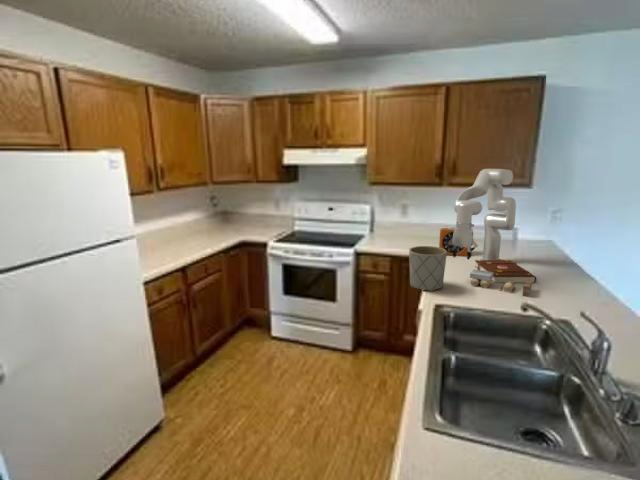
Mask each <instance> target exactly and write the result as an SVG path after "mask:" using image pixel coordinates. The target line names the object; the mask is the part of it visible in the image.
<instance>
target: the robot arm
mask: <svg viewBox="0 0 640 480" xmlns="http://www.w3.org/2000/svg"><path fill="white" fill-rule="evenodd" d="M513 179H514V174H513V171H512V170H510V169H505V168H484V169H482V170H480V172H479V173H478V175H477V176H476V179H475V181H474V183H473V184H472V186H470V187H467V188H466V189H465V190H463V191H461V193H460V194H459V195H458V196H457V198H456V200H455V202H454V205H453V210H454V212H455V213H456V220H455V221H456V223H455V226H456V227H455V229H454V233H453V239H451V240H450V241H449V242H447V243H448V244H449V246H450V247H451V248H452V250H453V256H452V257H453V258H456V257H457V256H456V253H457V250H456V247H457V246H461V247H467V249H468V252H467V256H466V259H467V260H470V259H471V257H472V252H473V251H474V250H475V249H476V248H478V246H479V245H478V244H477V242H476V241H474V229H473V228H474V227H475V224H473V223H472V219H473V216H478V215H479V214H480V213H482V210H483V204H482V203H481V202H480V201H477V200H472V199H477V198H479V197H483V196H485V195H486V194H487V203H486V205H487V207H486V208H487V210H488V211H490V212H492V213H487V214H486V215H485V216H484V219H483V224H484V225H483V226H484V237H483V239H484V241H483V252H482V258H480V259H479V260H500V252H501V249H500V248H501V239H502V236H501V233H500V231H499V230H503V231H511V230H513V229H514V228H515V224H516V211H517V202H516V199H515V198H514V197H511V196H504V187H503V186H505V185H506V186H507V185H510V184H512V181H513ZM493 212H494V213H493ZM502 213H503V214H502ZM504 213H505V214H504ZM451 242H452V244H453V245H454V246H453V245H452V244H451ZM472 246H473V247H472Z"/></svg>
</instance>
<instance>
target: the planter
mask: <svg viewBox="0 0 640 480" xmlns="http://www.w3.org/2000/svg"><path fill="white" fill-rule="evenodd" d="M408 250H409V251H408V254H409V255H408V257H409V259H408V260H409V284H410V287H411V288H415V289H418V290H422V291H428V292H434V291H436V290H438V289H440V288H442V287H443V286H444V280H445V279H444V278H445V271H446V263H447V256H446V255H447V251H446V250H445V249H443V248H439V246H433V245H432V246H431V245H419V246H418V245H417V246H412V247H411V248H409V249H408Z"/></svg>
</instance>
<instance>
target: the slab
mask: <svg viewBox="0 0 640 480" xmlns="http://www.w3.org/2000/svg"><path fill="white" fill-rule="evenodd" d="M493 273H494V272H488V271H481V270H478V269H473V270H471V272H470V273H469V278H470V279H473V278H474V279H481V280H487V281H490V280H491V279H492V278H493Z"/></svg>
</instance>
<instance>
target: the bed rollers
mask: <svg viewBox="0 0 640 480" xmlns="http://www.w3.org/2000/svg"><path fill="white" fill-rule="evenodd" d="M491 283H493V282H492V279H491V280H490V281H487V280H481V279H474V278H471V280H470V285H471V286H472V287H477V286H478V285H479V284H480V286H481V288H483V289H486V288H488V287H489V286H490V285H491ZM504 285H505V284H502V285H501V287H500V288H499V289H498V291H499V292H501V291H502V290H503V286H504ZM516 288H517V287H516V286H514V287H513V288H512V290H511V291H510V294H513V293H514V292H515V289H516Z"/></svg>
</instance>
